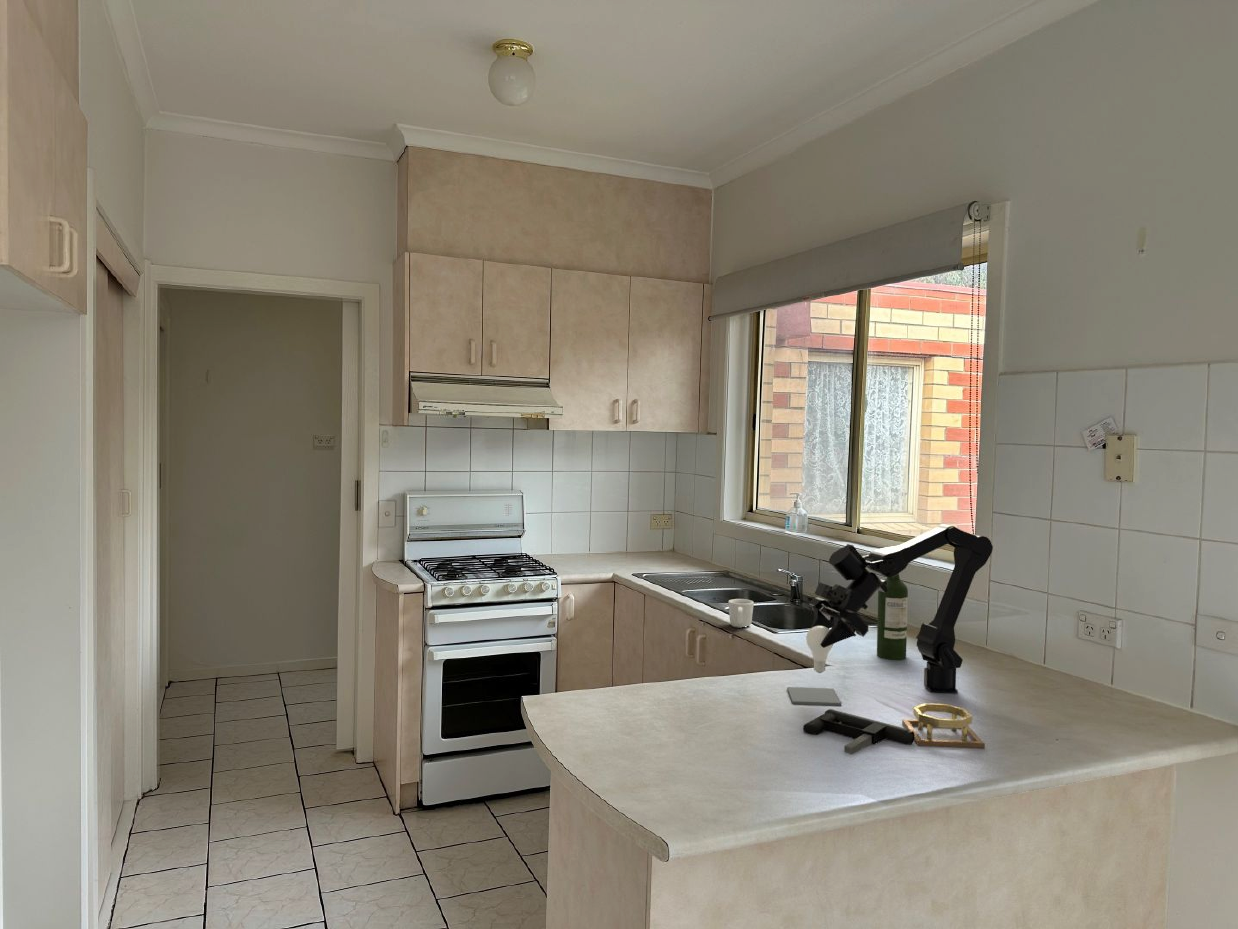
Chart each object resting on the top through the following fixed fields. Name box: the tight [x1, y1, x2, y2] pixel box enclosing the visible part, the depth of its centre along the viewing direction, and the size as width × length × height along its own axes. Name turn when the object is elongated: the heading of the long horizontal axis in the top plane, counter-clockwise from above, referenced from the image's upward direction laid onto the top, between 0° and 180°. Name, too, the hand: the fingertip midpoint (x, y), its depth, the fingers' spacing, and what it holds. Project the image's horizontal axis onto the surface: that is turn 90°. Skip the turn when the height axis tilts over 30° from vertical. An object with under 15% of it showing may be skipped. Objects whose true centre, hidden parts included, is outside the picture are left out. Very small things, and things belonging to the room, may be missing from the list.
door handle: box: [802, 708, 915, 755], centre depth 180 cm, size 3×20×16 cm
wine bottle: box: [876, 573, 909, 661], centre depth 244 cm, size 8×8×30 cm
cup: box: [728, 598, 755, 629], centre depth 277 cm, size 11×8×8 cm
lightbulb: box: [805, 626, 834, 674], centre depth 205 cm, size 6×6×11 cm
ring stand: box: [901, 702, 986, 749], centre depth 182 cm, size 13×13×5 cm
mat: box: [787, 686, 842, 706], centre depth 207 cm, size 11×11×1 cm
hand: (814, 642), depth 204 cm, fingers closed on lightbulb, 6 cm apart
